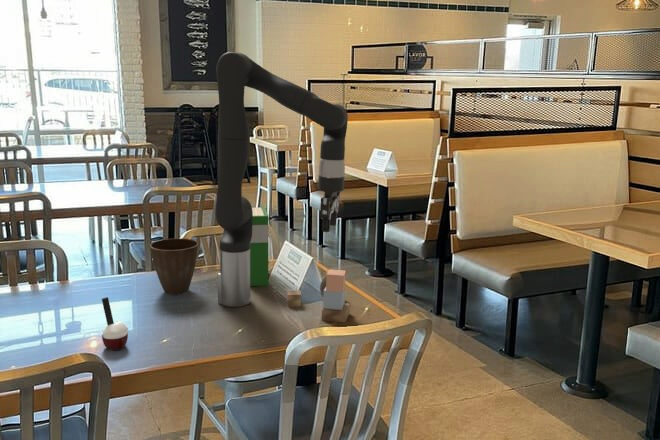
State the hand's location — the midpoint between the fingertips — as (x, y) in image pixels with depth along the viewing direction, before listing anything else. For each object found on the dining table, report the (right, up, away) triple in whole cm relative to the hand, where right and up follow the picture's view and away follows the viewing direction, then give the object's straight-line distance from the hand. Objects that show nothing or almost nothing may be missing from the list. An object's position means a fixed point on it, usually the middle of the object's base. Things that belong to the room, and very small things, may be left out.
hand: (329, 228), depth 184 cm
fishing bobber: (-55, -30, -23) cm, 67 cm away
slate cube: (+1, -23, 0) cm, 23 cm away
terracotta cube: (+2, -18, -2) cm, 18 cm away
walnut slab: (+2, -26, 0) cm, 27 cm away
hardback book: (-26, -18, +34) cm, 47 cm away
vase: (0, -23, +15) cm, 27 cm away
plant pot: (-50, -21, +18) cm, 57 cm away
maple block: (-11, -24, +9) cm, 28 cm away
